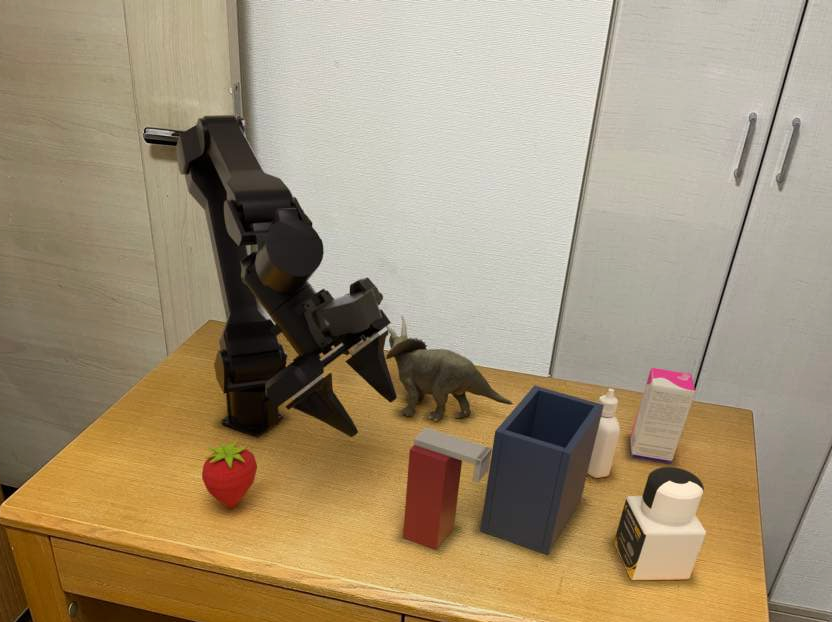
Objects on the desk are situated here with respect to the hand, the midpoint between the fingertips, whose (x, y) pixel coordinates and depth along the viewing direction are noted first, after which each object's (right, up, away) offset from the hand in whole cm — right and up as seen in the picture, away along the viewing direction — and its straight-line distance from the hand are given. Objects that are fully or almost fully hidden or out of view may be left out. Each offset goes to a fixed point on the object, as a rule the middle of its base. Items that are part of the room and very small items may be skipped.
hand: (375, 417), depth 91 cm
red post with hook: (+8, -14, +5) cm, 17 cm away
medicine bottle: (+33, -17, +4) cm, 37 cm away
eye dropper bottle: (+29, -4, +19) cm, 35 cm away
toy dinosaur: (+8, +5, +29) cm, 30 cm away
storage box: (+19, -11, +10) cm, 24 cm away
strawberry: (-18, -10, +8) cm, 22 cm away
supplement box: (+39, -1, +24) cm, 45 cm away
